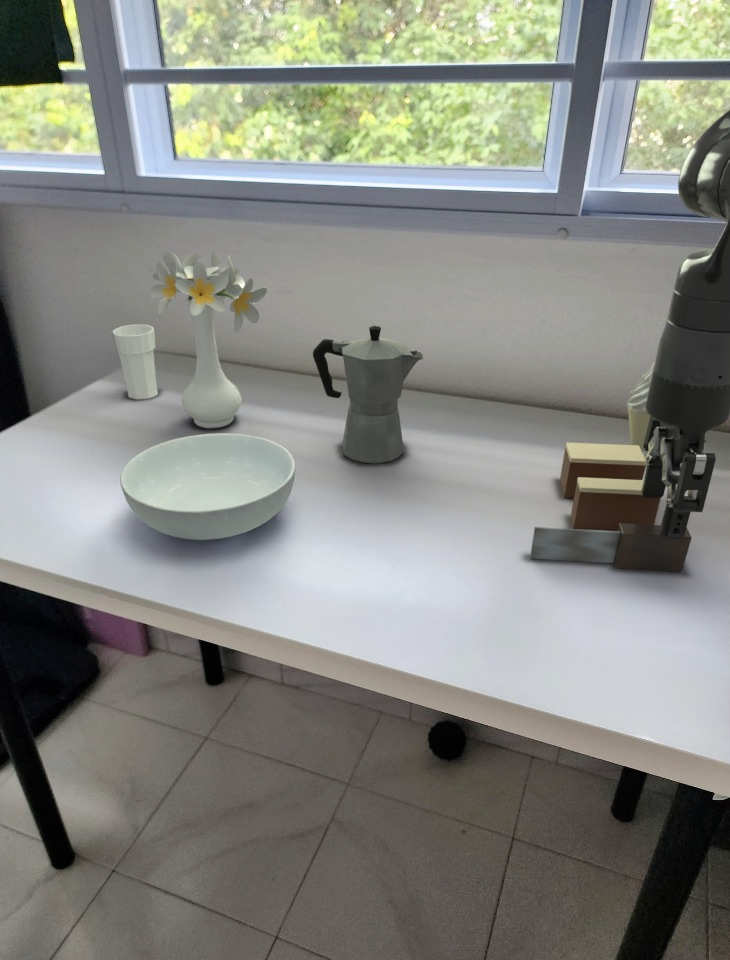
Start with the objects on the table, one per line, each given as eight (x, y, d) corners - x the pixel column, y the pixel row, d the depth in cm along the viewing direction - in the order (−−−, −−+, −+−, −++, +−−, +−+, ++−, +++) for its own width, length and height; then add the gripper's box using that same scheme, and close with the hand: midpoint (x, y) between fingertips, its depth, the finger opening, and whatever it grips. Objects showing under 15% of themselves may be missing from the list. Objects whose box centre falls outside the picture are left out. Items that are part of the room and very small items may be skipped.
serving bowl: (321, 490, 98) (320, 442, 95) (255, 578, 82) (250, 524, 78) (181, 468, 105) (175, 422, 101) (94, 545, 88) (82, 494, 84)
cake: (630, 484, 98) (639, 445, 95) (637, 501, 94) (647, 461, 91) (559, 480, 99) (566, 442, 96) (564, 497, 96) (571, 458, 93)
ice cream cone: (616, 468, 102) (639, 361, 94) (613, 452, 106) (635, 348, 98) (655, 471, 101) (682, 364, 93) (651, 455, 105) (676, 351, 97)
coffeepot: (425, 442, 110) (432, 320, 100) (409, 470, 103) (415, 341, 93) (326, 429, 115) (324, 311, 105) (304, 455, 107) (299, 330, 97)
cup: (153, 402, 125) (143, 337, 119) (116, 399, 127) (105, 335, 121) (168, 388, 131) (160, 325, 125) (134, 385, 132) (123, 323, 126)
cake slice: (647, 521, 90) (657, 480, 87) (652, 533, 88) (662, 491, 85) (570, 517, 91) (577, 477, 88) (573, 528, 89) (581, 487, 86)
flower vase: (248, 447, 110) (234, 270, 96) (146, 426, 117) (119, 259, 103) (289, 414, 120) (282, 250, 106) (193, 397, 127) (175, 241, 113)
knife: (676, 560, 83) (686, 526, 81) (681, 572, 81) (692, 537, 79) (529, 552, 85) (534, 518, 83) (531, 563, 83) (536, 528, 81)
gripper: (766, 398, 64) (718, 555, 73) (716, 344, 76) (680, 485, 85) (674, 396, 65) (637, 551, 74) (639, 343, 77) (611, 482, 86)
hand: (660, 515), depth 79 cm, fingers open, 8 cm apart
